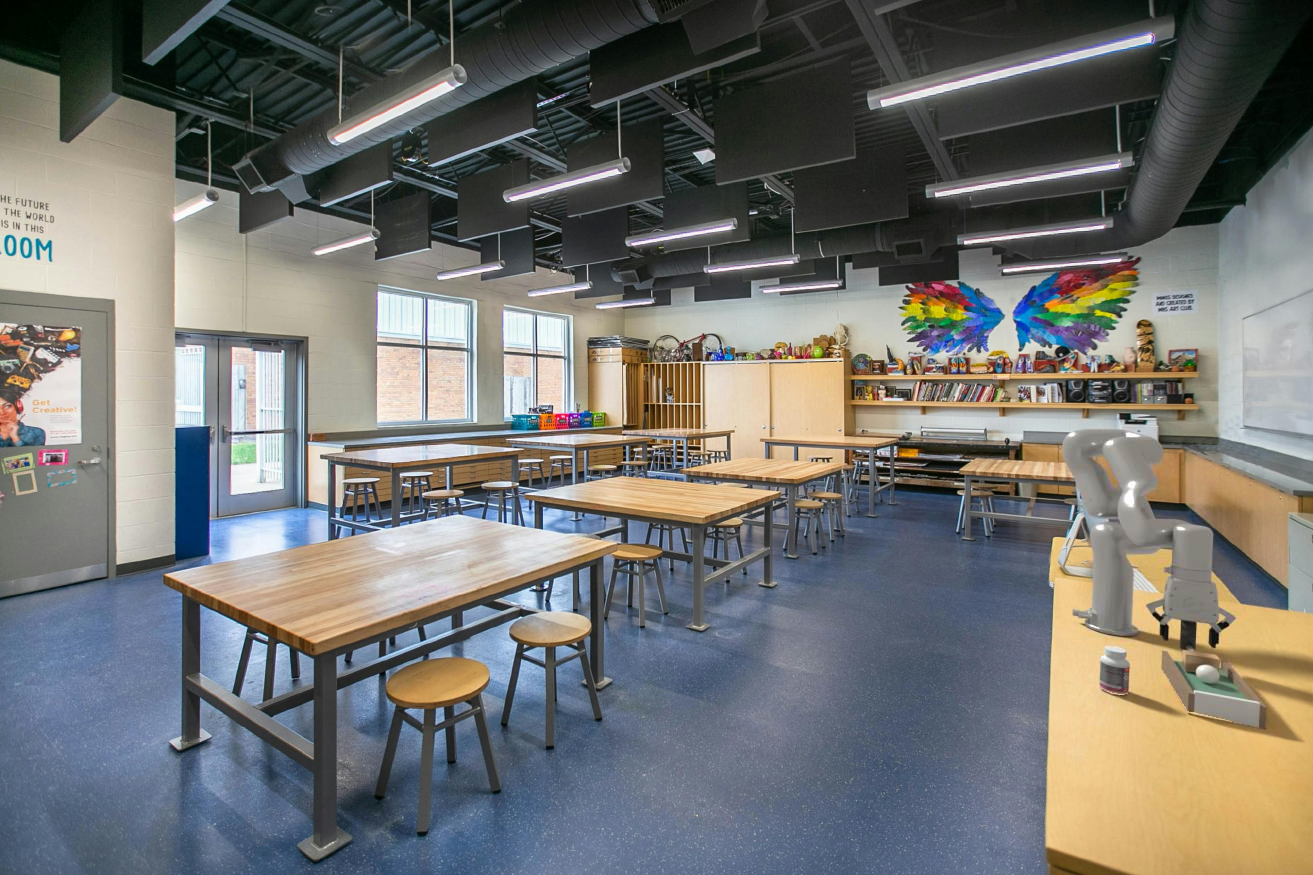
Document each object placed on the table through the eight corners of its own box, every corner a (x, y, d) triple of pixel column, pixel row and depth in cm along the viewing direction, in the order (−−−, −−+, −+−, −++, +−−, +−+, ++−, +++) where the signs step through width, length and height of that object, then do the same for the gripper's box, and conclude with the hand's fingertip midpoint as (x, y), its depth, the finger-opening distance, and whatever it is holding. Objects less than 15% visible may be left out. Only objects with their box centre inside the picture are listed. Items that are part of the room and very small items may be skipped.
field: (1187, 713, 128) (1188, 690, 127) (1161, 668, 150) (1162, 648, 150) (1265, 728, 122) (1266, 704, 121) (1225, 679, 144) (1226, 658, 144)
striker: (1185, 670, 142) (1186, 636, 142) (1170, 648, 155) (1171, 617, 155) (1219, 676, 139) (1220, 641, 139) (1201, 653, 152) (1202, 622, 151)
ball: (1198, 684, 136) (1198, 666, 136) (1193, 677, 139) (1194, 660, 139) (1221, 688, 134) (1222, 670, 134) (1216, 681, 137) (1217, 664, 137)
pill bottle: (1130, 698, 134) (1132, 655, 134) (1100, 692, 137) (1102, 650, 137) (1126, 688, 139) (1127, 647, 139) (1097, 683, 142) (1099, 642, 141)
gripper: (1149, 573, 152) (1147, 640, 153) (1243, 583, 143) (1239, 654, 144) (1144, 566, 159) (1141, 631, 159) (1232, 575, 150) (1229, 644, 151)
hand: (1188, 642), depth 152 cm, fingers open, 8 cm apart
